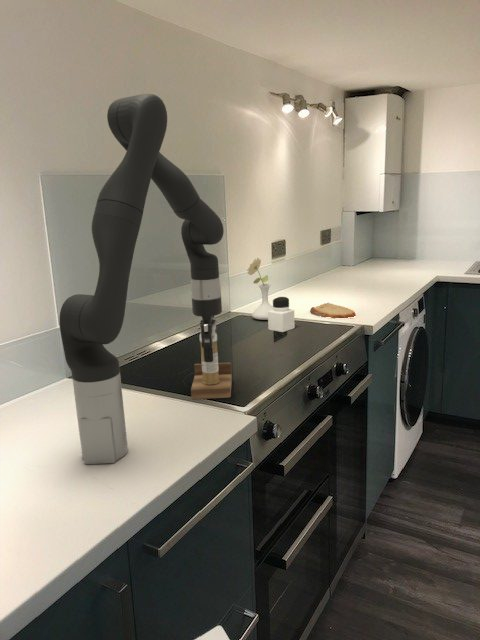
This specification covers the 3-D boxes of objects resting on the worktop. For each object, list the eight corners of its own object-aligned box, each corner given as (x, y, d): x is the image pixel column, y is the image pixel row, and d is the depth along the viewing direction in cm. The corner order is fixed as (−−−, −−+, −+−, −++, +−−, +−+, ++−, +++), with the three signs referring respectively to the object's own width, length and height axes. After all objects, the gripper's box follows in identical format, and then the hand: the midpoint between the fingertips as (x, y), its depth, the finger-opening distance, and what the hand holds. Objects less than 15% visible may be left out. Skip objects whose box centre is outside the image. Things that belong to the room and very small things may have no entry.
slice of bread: (357, 319, 212) (357, 310, 212) (311, 320, 214) (311, 311, 213) (352, 309, 230) (352, 300, 229) (309, 310, 232) (309, 301, 231)
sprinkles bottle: (202, 380, 144) (198, 331, 141) (219, 378, 145) (216, 330, 142) (202, 386, 140) (199, 336, 137) (220, 384, 140) (217, 335, 137)
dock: (230, 397, 138) (229, 377, 137) (191, 399, 139) (190, 378, 137) (231, 381, 150) (230, 362, 149) (195, 382, 150) (194, 363, 149)
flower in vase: (268, 313, 227) (266, 254, 221) (285, 318, 218) (283, 256, 212) (242, 319, 220) (240, 257, 214) (259, 324, 211) (256, 260, 205)
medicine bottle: (295, 328, 202) (294, 296, 199) (283, 332, 197) (282, 300, 194) (280, 325, 207) (279, 294, 204) (268, 329, 202) (266, 298, 199)
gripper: (219, 300, 130) (223, 364, 134) (222, 289, 144) (225, 348, 148) (188, 302, 130) (193, 366, 134) (194, 291, 144) (198, 349, 148)
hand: (210, 356), depth 141 cm, fingers open, 8 cm apart
